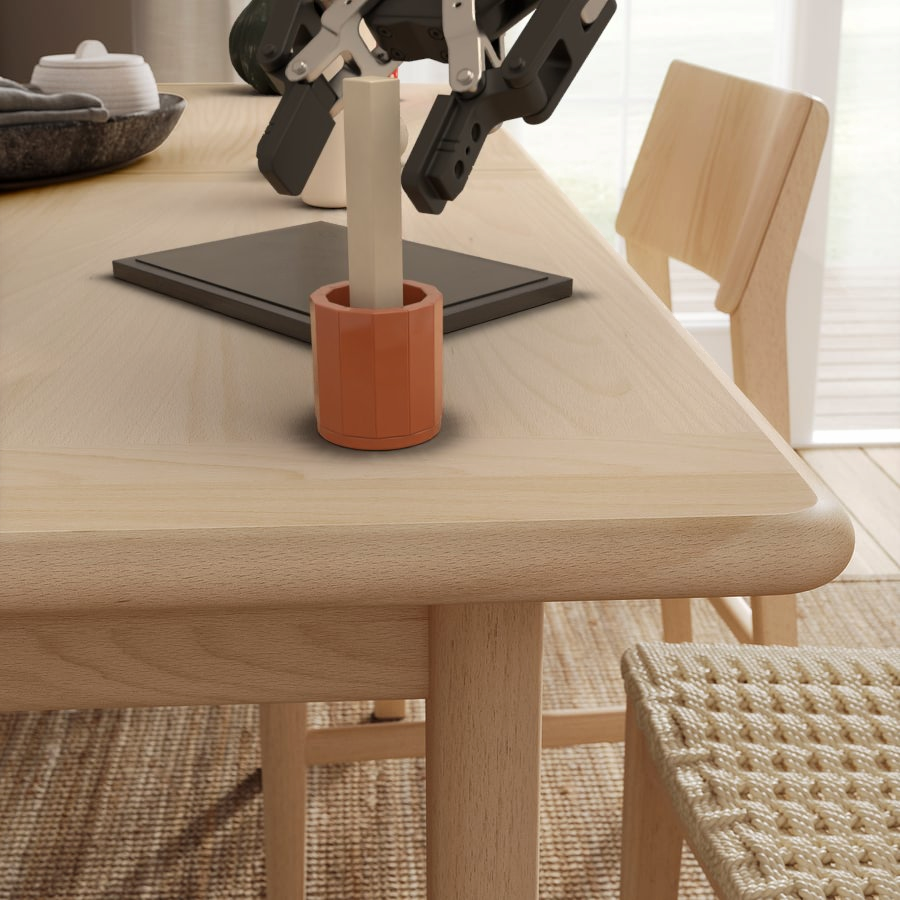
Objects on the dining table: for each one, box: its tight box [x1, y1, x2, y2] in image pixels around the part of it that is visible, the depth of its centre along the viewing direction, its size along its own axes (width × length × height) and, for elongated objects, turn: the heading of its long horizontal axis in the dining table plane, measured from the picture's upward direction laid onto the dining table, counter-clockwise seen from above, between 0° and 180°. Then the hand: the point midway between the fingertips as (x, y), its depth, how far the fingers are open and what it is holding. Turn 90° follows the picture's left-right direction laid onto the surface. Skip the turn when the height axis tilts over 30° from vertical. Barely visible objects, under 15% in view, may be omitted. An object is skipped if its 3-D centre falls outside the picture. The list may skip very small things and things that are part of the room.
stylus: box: [343, 76, 403, 309], centre depth 45 cm, size 2×2×13 cm
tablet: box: [111, 220, 574, 344], centre depth 67 cm, size 22×16×1 cm
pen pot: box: [310, 280, 444, 451], centre depth 46 cm, size 5×5×6 cm
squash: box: [228, 0, 282, 95], centre depth 162 cm, size 14×15×15 cm
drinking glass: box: [291, 19, 376, 209], centre depth 87 cm, size 7×7×15 cm
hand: (346, 190), depth 42 cm, fingers open, 5 cm apart
